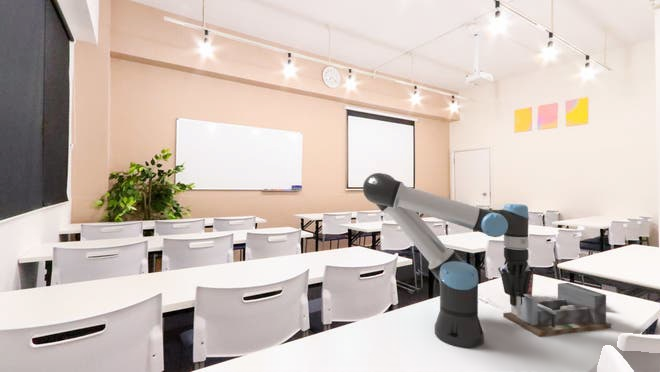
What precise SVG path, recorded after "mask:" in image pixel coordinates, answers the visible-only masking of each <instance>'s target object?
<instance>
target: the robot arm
mask: <svg viewBox="0 0 660 372" xmlns="http://www.w3.org/2000/svg"><path fill="white" fill-rule="evenodd" d="M362 191H363V195H364V197H365V198H366V200H367V201H369V202H371V203H372V204H374V205H376V206H377V208H378V209H379V210H380V211H381V212H382V213H386V214H388V215H389V216H390V217H391V219H393V221H394V222H395V223H396V225H397V226H399V228H400V229H401V231H402V232H403V233H404V234H405V235H406V236H407V237H408V239H409V240H410V241H411V242H412V243H413V245H414V246H415V247H416V248H417V250H418V251H419V252H420V253H421V255H422V256H423V257H424V259H426V260H427V262H428V269H429V271H430V272H431V273H432V274H433V275H434V277H435V278H436V279H437V280H438V281H439V311H438V312H439V313H438V315H437V318H436V321H435V324H434V334H435V336H436V337H437V338H438V340H441V341H442V342H444V343H447V344H449V345H452V346H456V347H461V348H475V347H480V346H481V345H483V344H484V341H485V339H484V338H485V334H484V329H483V327H482V324H481V322H480V318H479V299H478V298H479V297H478V295H479V273H478V272H479V271H478V270H477V269H476V267H475V266H473V265H472V264H469V263H467V262H466V261H465V260H463V259H462V257H461V256H459V255H458V253H457V252H456V251H455V250H454V249H452V248H447V246H446V245H445V244H444V243H443V242H442V241H441V239H440V238H438V236H437V235H436V234H435V233H434V231H433V230H432V229H431V228H430V226H429V225H428V224H427V223H426V222H425V220H423V218H422V217H421V216H420V214H422V215H425V216H428V217H431V218H435V219H438V220H442V221H444V222H447V223H451V224H453V225H457V226H460V227H463V228H467V229H470V230H473V231H475V232H479V233H482V234H485V235H486V236H488V237H491V238H492V237H493V238H499V237H502V236H503V246H504V248H503V258H504V264H503V266H502V267H498V268H497V270H498V271H499V273H500V276H501V282H502V285H503V290H504V291H503V292H504V293H505V294H507V295H508V296H509V305H511V306H510V307H511V309H510V310H511V311H510V312H511V313H513V314H515V315H516V316H521V305H522V297H525V295H524V294H527V293H528V288H529V283H530V278H531V274H532V272H533V270H534V271H535V268H534V267H533V266H530V265H529V263H528V260H529V253H530V252H529V250H528V248H529V219H530V217H529V208H528V206H527V205H525V204H519V203H518V204H517V203H516V204H515V203H511V204H510V203H506V204H504V205H503V208H502V209H484V208H481V207H477V206H474V205H471V204H467V203H464V202H460V201H457V200H454V199H450V198H447V197H443V196H440V195H436V194H434V193H430V192H427V191H423V190H419V189H416V188H413V187H411V186H410V187H409V186H407V185H405V184H404V183H403V181H399V180H396V179H395V178H394V177H392V176H391V175H389V174H388V173H381V172H376V173H372V174H371V175H369V176H368V177H367V178H365V179H364V182H363V185H362ZM418 213H419V214H418Z"/></svg>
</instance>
